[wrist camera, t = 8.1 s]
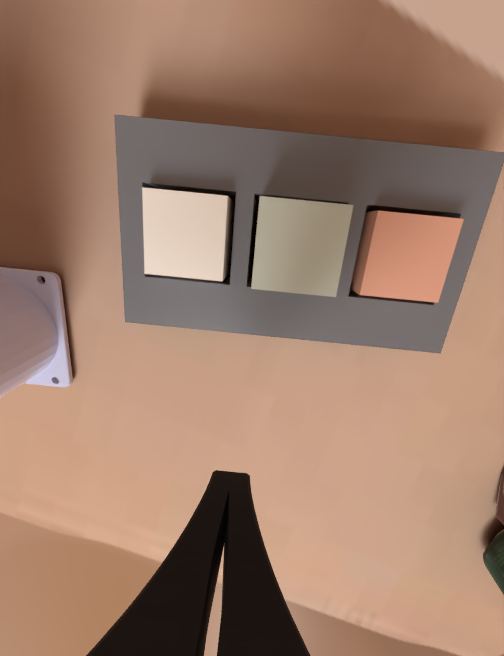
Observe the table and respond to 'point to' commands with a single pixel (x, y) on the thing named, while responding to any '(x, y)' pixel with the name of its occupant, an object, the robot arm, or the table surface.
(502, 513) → the box
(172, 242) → the cream key
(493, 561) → the coffee jar
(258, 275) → the sage key
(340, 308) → the keypad
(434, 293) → the terracotta key
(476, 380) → the table surface
